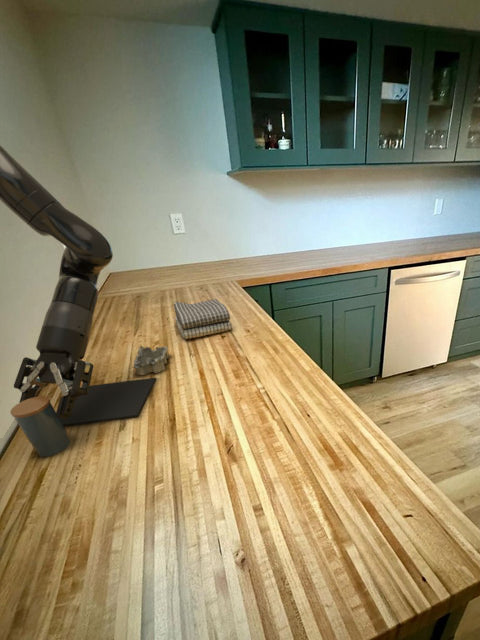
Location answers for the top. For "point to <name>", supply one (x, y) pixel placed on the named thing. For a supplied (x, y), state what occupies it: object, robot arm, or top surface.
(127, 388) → the counter mat
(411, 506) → the top surface
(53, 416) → the sugar canister
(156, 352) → the egg carton
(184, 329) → the towel
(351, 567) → the top surface
